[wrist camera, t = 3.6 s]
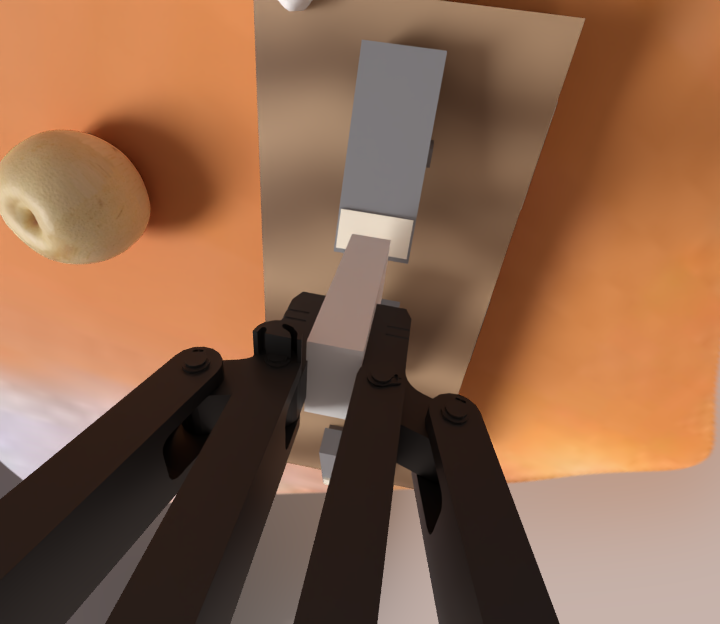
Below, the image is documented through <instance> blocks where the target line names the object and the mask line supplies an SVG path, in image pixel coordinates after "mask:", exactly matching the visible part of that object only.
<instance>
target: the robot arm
mask: <svg viewBox="0 0 720 624" xmlns="http://www.w3.org/2000/svg"><path fill="white" fill-rule="evenodd" d="M390 243H391V240H387V239H381V238H375V237H369V236H363V235H357V234H352V235H351V238H350V240H349V242H348V245H347V247H346V249H345V252H344V254H343V257H342V259H341V261H340V264H339V266H338V268H337V271H336V273H335V276H334V278H333V280H332V283H331V285H330V287H329V290H328V292H327V294H326V296H325V295H320V294H314V293H308V292H302V293H300V294H299V295H297V296H296V297H294V298H293V299H292V301H291V303H290V305H289V306H288V309H287V310H286V312H285V314H284V316H283V318H282V320H273V321H267V322H264V323H262V324H260V325H258V326H257V327H256V328H255V329H254V330H253V344H254V356H253V357H250V358H247V359H240V360H222V357H221V355H220V354H219V353H218V352H217V351H215V350H214V349H211V348H207V347H193V348H190V349H186V350H183V351H182V352H180V353H178V354H177V355H175V356H174V357H173V358H172V359H170V360H169V361H168V362H167V363H166V364H164V365H163V366H162V367H161V368H160V369H158V370H157V371H156V372H155V373H153V374H152V375H151V376H150V377H149V378H147V379H146V380H145V381H144V382H142V383H141V384H140V385H139V386H138V387H136V388H135V389H134V390H133V391H132V392H130V393H129V394H128V395H127V396H125V397H124V398H123V399H122V400H121V401H119V402H118V403H117V404H116V405H114V406H113V407H112V408H111V409H110V410H108V411H107V412H106V413H105V414H104V415H102V416H101V417H100V418H99V419H97V420H96V421H95V422H94V423H93V424H91V425H90V426H89V427H88V428H86V429H85V430H84V431H83V432H82V433H80V434H79V435H78V436H77V437H76V438H74V439H73V440H72V441H71V442H69V443H68V444H67V445H66V446H65V447H63V448H62V449H61V450H60V451H59V452H57V453H56V454H55V455H54V456H52V457H51V458H50V459H49V460H48V461H46V462H45V463H44V464H43V465H41V466H40V467H39V468H38V469H37V470H35V471H34V472H33V473H32V474H31V475H29V476H28V477H27V478H26V479H24V480H23V481H22V482H21V483H20V484H18V485H17V486H16V487H15V488H14V489H12V490H11V491H10V492H9V493H7V494H6V495H5V496H4V497H3V498H1V499H0V624H65V623H66V622H67V621H68V620H69V619H70V617H71V616H72V615H73V614H74V613H75V612H76V610H77V609H78V608H79V607H80V606H81V604H83V602H84V601H85V600H86V599H87V598H88V597H89V595H90V594H91V593H92V592H93V591H94V590H95V588H96V587H97V586H98V585H99V584H100V582H101V581H102V580H103V579H104V578H105V577H106V576H107V574H108V573H109V572H110V571H111V570H112V568H113V567H114V566H115V565H116V564H117V563H118V561H119V560H120V559H121V558H122V557H123V555H125V553H126V552H127V551H128V550H129V549H130V548H131V546H132V545H133V544H134V543H135V542H136V541H137V539H138V538H139V537H140V536H141V535H142V534H143V532H144V531H145V530H146V529H147V528H148V526H149V525H150V524H151V523H152V522H153V521H154V519H155V518H156V517H157V516H158V515H159V514H160V513H161V511H162V510H163V509H164V508H165V507H166V506H167V504H168V503H169V502H170V501H171V500H172V499H173V497H174V496H175V495H176V494H177V495H176V497H175V498H174V500H173V502H172V504H171V506H170V508H169V509H168V511H167V513H166V515H165V517H164V518H163V520H162V522H161V524H160V526H159V528H158V529H157V531H156V533H155V535H154V537H153V538H152V540H151V542H150V544H149V546H148V547H147V549H146V551H145V553H144V555H143V556H142V559H141V560H140V562H139V564H138V565H137V567H136V569H135V571H134V573H133V575H132V577H131V578H130V580H129V582H128V584H127V586H126V587H125V589H124V591H123V593H122V594H121V596H120V598H119V600H118V602H117V604H116V605H115V607H114V609H113V611H112V612H111V615H110V616H109V618H108V620H107V621H106V623H105V624H230V623H231V620H232V617H233V614H234V612H235V609H236V606H237V603H238V600H239V597H240V594H241V592H242V588H243V586H244V583H245V580H246V577H247V574H248V572H249V569H250V566H251V563H252V560H253V557H254V554H255V552H256V549H257V546H258V543H259V540H260V537H261V534H262V532H263V528H264V526H265V523H266V520H267V517H268V514H269V512H270V509H271V506H272V503H273V500H274V497H275V495H276V492H277V489H278V486H279V483H280V480H281V477H282V475H283V472H284V469H285V466H286V463H287V460H288V457H289V455H290V452H291V449H292V446H293V443H294V440H295V438H296V435H297V432H298V429H299V425H300V413H301V410H302V407H303V404H304V402H305V405H304V411H305V412H310V413H315V414H320V415H325V416H330V417H335V418H340V419H345V422H344V426H343V430H342V434H341V438H340V442H339V446H338V450H337V454H336V458H335V462H334V466H333V470H332V473H331V477H330V481H329V485H328V489H327V493H326V497H325V502H324V505H323V509H322V513H321V517H320V521H319V525H318V529H317V533H316V537H315V541H314V545H313V548H312V552H311V556H310V560H309V564H308V569H307V572H306V576H305V580H304V584H303V588H302V592H301V596H300V600H299V604H298V608H297V612H296V616H295V620H294V623H293V624H377V620H378V612H379V603H380V594H381V587H382V578H383V570H384V561H385V553H386V544H387V536H388V527H389V519H390V510H391V501H392V493H393V485H394V476H395V468H396V463H397V464H399V465H401V466H403V467H405V468H406V469H408V470H410V471H411V475H412V480H413V486H414V491H415V497H416V502H417V507H418V513H419V518H420V524H421V529H422V534H423V540H424V545H425V550H426V556H427V562H428V567H429V572H430V578H431V583H432V588H433V594H434V600H435V605H436V610H437V616H438V621H439V624H559V621H558V618H557V616H556V613H555V610H554V608H553V605H552V602H551V600H550V597H549V594H548V592H547V589H546V586H545V584H544V581H543V578H542V576H541V573H540V570H539V568H538V565H537V562H536V560H535V557H534V554H533V552H532V549H531V546H530V544H529V541H528V538H527V536H526V533H525V530H524V528H523V525H522V522H521V520H520V517H519V514H518V512H517V509H516V506H515V504H514V501H513V498H512V496H511V493H510V490H509V488H508V485H507V482H506V480H505V477H504V474H503V472H502V469H501V466H500V464H499V461H498V458H497V456H496V453H495V450H494V448H493V445H492V442H491V440H490V437H489V434H488V432H487V429H486V426H485V424H484V421H483V418H482V416H481V413H480V411H479V410H478V408H477V406H476V405H475V404H474V403H472V402H471V401H470V400H469V399H467V398H465V397H463V396H461V395H458V394H452V393H445V394H440V395H438V396H436V397H434V398H431V397H429V396H426V395H424V394H423V393H421V392H419V391H417V390H416V389H415V388H414V387H413V386H412V385H411V384H410V383H409V381H408V379H407V377H406V362H407V353H408V345H409V336H410V328H411V317H410V315H409V313H408V311H407V309H404V308H398V307H393V306H387V305H381V300H382V293H383V287H384V281H385V274H386V268H387V262H388V255H389V249H390Z"/></svg>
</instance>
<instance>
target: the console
mask: <svg viewBox="0 0 720 624" xmlns="http://www.w3.org/2000/svg"><path fill="white" fill-rule="evenodd" d="M584 21H585V18H579V17H571V16H563V15H554V14H546V13H538V12H530V11H522V10H514V9H506V8H498V7H490V6H482V5H474V4H466V3H458V2H449V1H441V0H312V2H311V3H310V4H309V6H308V7H307V8H306V9H305V10H303V11H288V10H287V9H285V8H284V7H283V6H282V4H281V3H280V2H279V1H278V0H254V24H255V51H256V78H257V105H258V132H259V159H260V186H261V213H262V239H263V266H264V293H265V320H266V322H267V321H273V320H282V318H283V316H284V314H285V312H286V310H287V309H288V306H289V305H290V303H291V301H292V299H293V298H294V297H296V296H297V295H299V294H300V293H302V292H308V293H314V294H320V295H325V296H326V294H327V292H328V290H329V287H330V285H331V283H332V280H333V278H334V276H335V273H336V271H337V268H338V266H339V264H340V261H341V259H342V257H343V254H344V253H341V252H335V251H334V244H335V237H336V229H337V222H338V214H339V207H340V199H341V192H342V184H343V177H344V169H345V162H346V154H347V147H348V139H349V132H350V124H351V117H352V109H353V102H354V94H355V87H356V79H357V72H358V65H359V57H360V50H361V42H362V40H369V41H376V42H384V43H391V44H399V45H406V46H414V47H422V48H429V49H437V50H444V51H447V55H446V60H445V66H444V71H443V77H442V82H441V88H440V93H439V99H438V104H437V109H436V115H435V120H434V126H433V131H432V137H431V142H430V147H429V153H428V158H427V164H426V169H425V175H424V180H423V185H422V191H421V196H420V202H419V207H418V213H417V218H416V224H415V229H414V234H413V240H412V245H411V251H410V256H409V262H408V264H405V263H400V262H394V261H388V262H387V268H386V274H385V281H384V287H383V293H382V299H386V300H392V301H397V302H400V306H399V308H404V309H407V311H408V313H409V315H410V317H411V328H410V336H409V345H408V353H407V362H406V377H407V379H408V381H409V383H410V384H411V385H412V386H413V387H414V388H415V389H416V390H417V391H419V392H421V393H423V394H424V395H426V396H429V397H431V398H434V397H436V396H438V395H440V394H445V393H452V394H458V393H459V390H460V387H461V384H462V381H463V378H464V375H465V373H466V370H467V367H468V364H469V362H470V359H471V356H472V353H473V350H474V347H475V344H476V341H477V338H478V335H479V333H480V330H481V327H482V324H483V321H484V318H485V315H486V312H487V309H488V306H489V303H490V300H491V296H492V293H493V290H494V287H495V284H496V281H497V278H498V275H499V272H500V269H501V266H502V263H503V260H504V257H505V255H506V252H507V249H508V246H509V243H510V240H511V237H512V234H513V231H514V228H515V225H516V222H517V219H518V216H519V213H520V210H521V209H522V206H523V203H524V200H525V197H526V194H527V191H528V188H529V185H530V182H531V179H532V176H533V174H534V171H535V168H536V165H537V162H538V159H539V156H540V153H541V150H542V147H543V144H544V141H545V138H546V135H547V132H548V129H549V126H550V124H551V121H552V118H553V115H554V112H555V109H556V106H557V103H558V98H559V95H560V92H561V89H562V86H563V83H564V80H565V77H566V75H567V72H568V69H569V66H570V63H571V60H572V57H573V54H574V51H575V48H576V45H577V42H578V39H579V36H580V33H581V30H582V27H583V24H584ZM304 405H305V402H304V404H303V407H302V410H301V413H300V425H299V429H298V432H297V435H296V438H295V440H294V443H293V446H292V449H291V452H290V455H289V457H288V460H287V463H291V464H296V465H301V466H306V467H311V468H315V469H320V470H321V462H320V455H319V451H320V447H321V442H322V438H323V434H324V430H325V428H330V429H335V430H340V431H342V430H343V426H344V422H345V419H340V418H335V417H330V416H325V415H320V414H315V413H310V412H305V411H304ZM394 485H397V486H402V487H407V488H412V489H414V486H413V480H412V475H411V471H410V470H408V469H406V468H405V467H403V466H401V465H399V464H397V463H396V468H395V476H394Z"/></svg>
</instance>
